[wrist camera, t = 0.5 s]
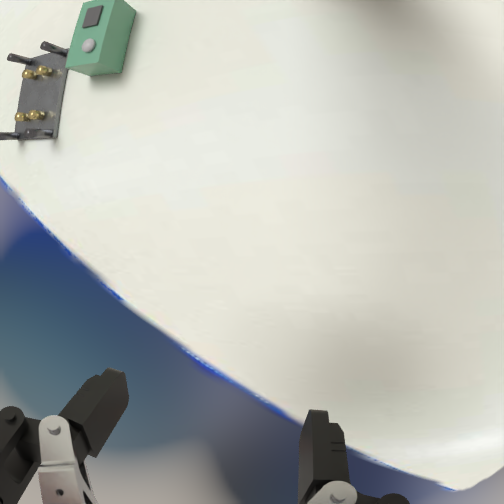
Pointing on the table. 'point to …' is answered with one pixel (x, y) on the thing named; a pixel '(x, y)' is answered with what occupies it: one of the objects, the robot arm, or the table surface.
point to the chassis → (40, 94)
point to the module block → (101, 37)
